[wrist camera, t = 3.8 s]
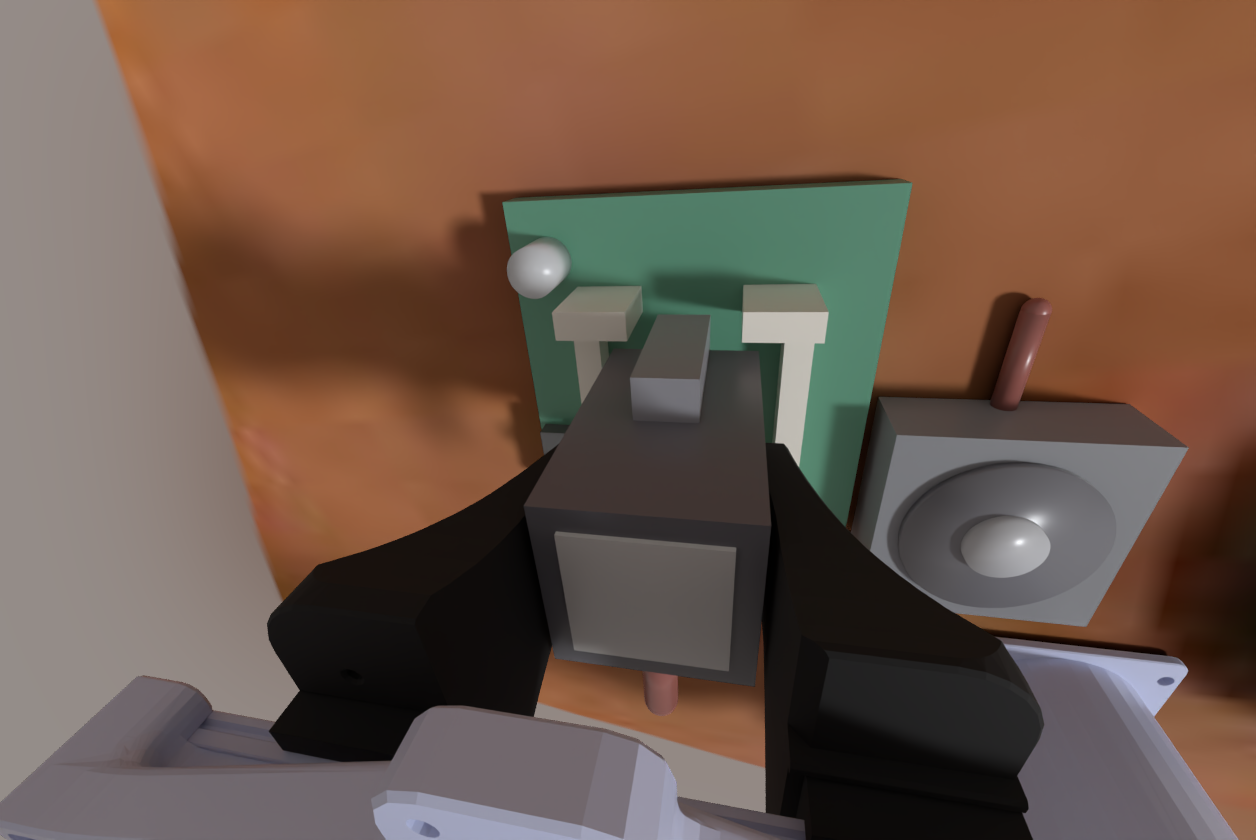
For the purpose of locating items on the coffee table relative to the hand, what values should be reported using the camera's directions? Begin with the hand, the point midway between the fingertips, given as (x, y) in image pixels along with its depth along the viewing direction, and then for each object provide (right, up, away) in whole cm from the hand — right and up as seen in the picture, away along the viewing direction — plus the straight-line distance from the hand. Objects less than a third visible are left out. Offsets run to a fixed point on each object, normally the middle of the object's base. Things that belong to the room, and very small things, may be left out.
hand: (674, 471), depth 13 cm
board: (+1, +3, +5) cm, 6 cm away
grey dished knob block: (+11, 0, +4) cm, 11 cm away
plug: (0, +2, +2) cm, 3 cm away
